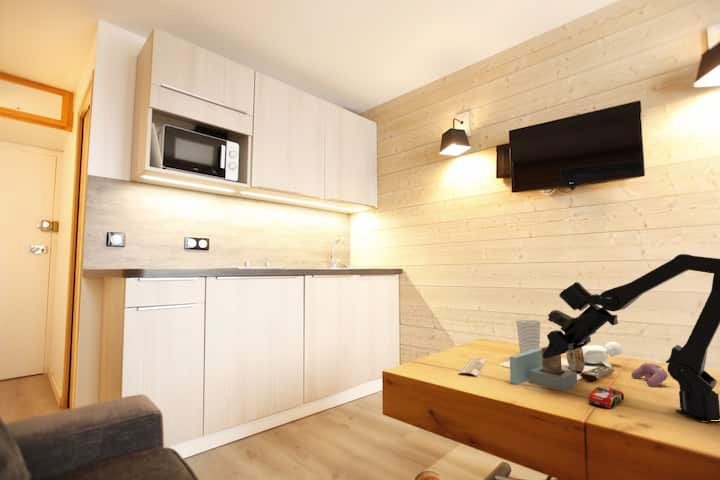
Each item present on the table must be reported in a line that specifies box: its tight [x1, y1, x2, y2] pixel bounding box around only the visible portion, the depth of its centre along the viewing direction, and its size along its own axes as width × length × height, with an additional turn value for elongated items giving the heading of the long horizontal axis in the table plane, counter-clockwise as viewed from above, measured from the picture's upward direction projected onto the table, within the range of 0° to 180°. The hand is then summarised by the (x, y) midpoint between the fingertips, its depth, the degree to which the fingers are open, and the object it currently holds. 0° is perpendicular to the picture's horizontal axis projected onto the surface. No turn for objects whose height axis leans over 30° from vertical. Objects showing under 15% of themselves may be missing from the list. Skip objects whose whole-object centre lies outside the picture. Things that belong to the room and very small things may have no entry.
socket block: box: [528, 366, 578, 392], centre depth 109 cm, size 10×10×4 cm
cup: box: [515, 319, 541, 354], centre depth 135 cm, size 8×8×16 cm
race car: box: [588, 385, 625, 409], centre depth 94 cm, size 13×5×4 cm, turn 127°
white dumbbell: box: [581, 341, 623, 369], centre depth 132 cm, size 9×8×15 cm
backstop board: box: [509, 347, 543, 386], centre depth 115 cm, size 2×20×8 cm, turn 130°
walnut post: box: [541, 345, 563, 375], centre depth 110 cm, size 4×4×10 cm
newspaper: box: [457, 357, 487, 378], centre depth 127 cm, size 24×7×2 cm, turn 153°
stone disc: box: [565, 347, 585, 372], centre depth 124 cm, size 10×4×10 cm, turn 163°
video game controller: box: [631, 362, 669, 388], centre depth 110 cm, size 10×5×7 cm, turn 169°
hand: (550, 355), depth 110 cm, fingers open, 9 cm apart
